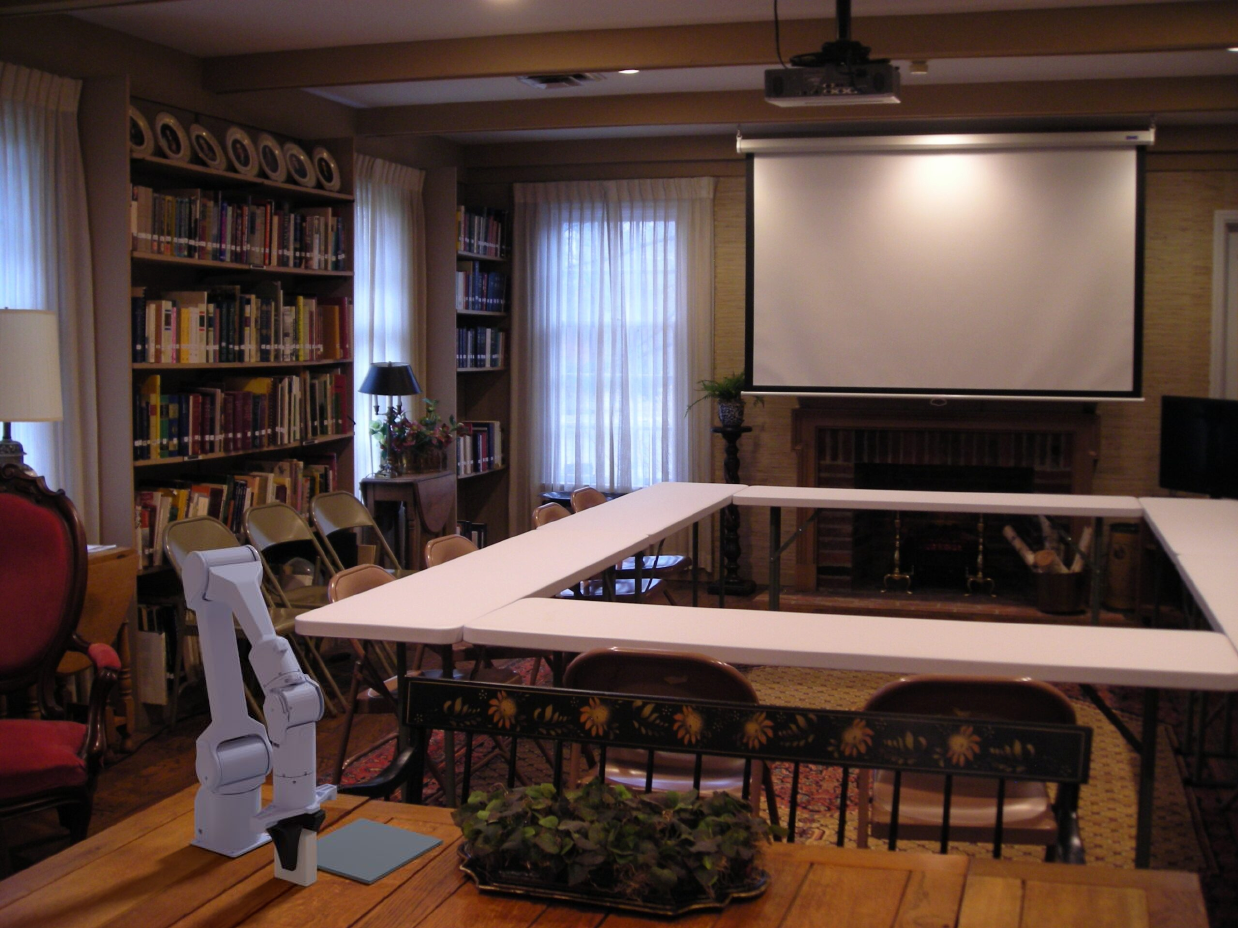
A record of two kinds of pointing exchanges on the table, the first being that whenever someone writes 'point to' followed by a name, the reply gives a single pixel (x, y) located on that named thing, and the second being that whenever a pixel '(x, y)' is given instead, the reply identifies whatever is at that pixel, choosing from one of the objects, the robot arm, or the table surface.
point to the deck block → (301, 861)
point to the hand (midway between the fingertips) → (295, 865)
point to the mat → (370, 850)
